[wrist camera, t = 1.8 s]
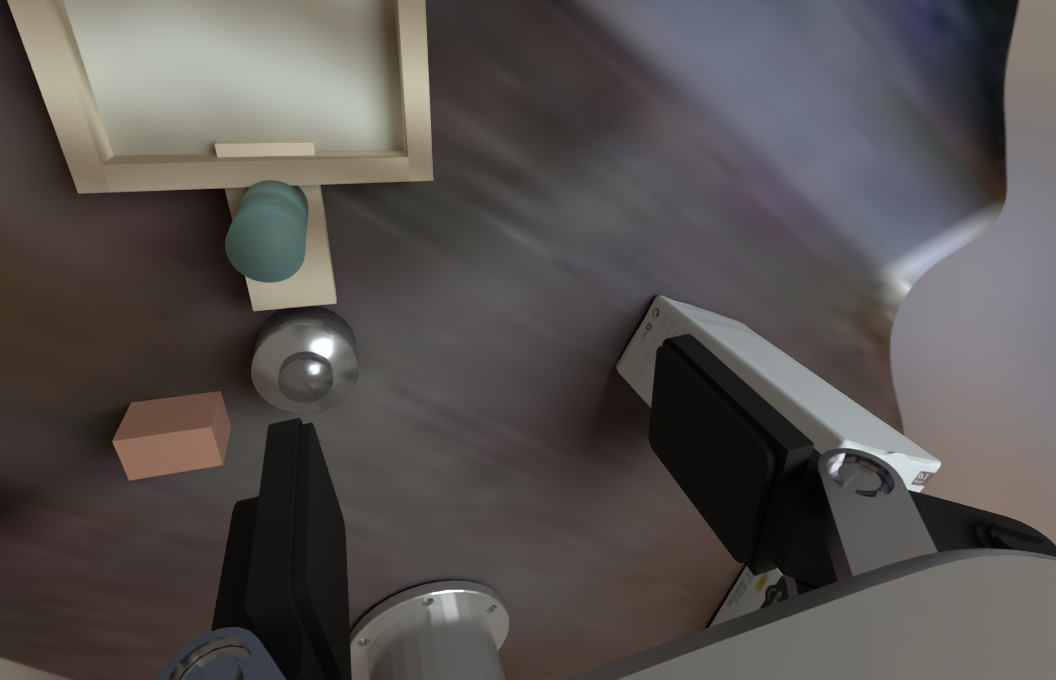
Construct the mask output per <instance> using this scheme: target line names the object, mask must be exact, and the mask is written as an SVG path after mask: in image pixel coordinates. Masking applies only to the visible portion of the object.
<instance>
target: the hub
mask: <svg viewBox="0 0 1056 680" xmlns="http://www.w3.org/2000/svg"><path fill="white" fill-rule="evenodd" d="M251 376H252V381H253V384H254V386H255V388H256V390H257V391H258V393H259V394H260V395H261V396H262V397H263V398H264V399H265V400H266V401H267V402H269V403H270V404H272V405H273V406H275V407H277V408H280V409H282V410H285V411H289V412H294V413H314V412H319V411H323V410H326V409H329V408H331V407H333V406H335V405H337V404H339V403H340V402H341V401H343V400H344V399H345V398H346V397H347V396H348V395H349V394H350V393H351V391H352V390H353V388H354V386H355V384H356V381H357V378H358V361H357V351H356V341H355V336H354V334H353V331H352V330H351V328H350V326H349V325H348V324H347V322H346V321H345V320H344V319H343V318H341V317H340V316H339V315H337V314H336V313H334V312H332V311H330V310H328V309H325V308H321V307H317V306H304V307H293V308H287V309H284V310H282V311H279V312H278V313H276V314H274V315H273V316H272V317H270V318H269V319H268V320H267V321H266V322H265V323H264V325H263V326H262V328H261V329H260V331H259V334H258V337H257V341H256V346H255V352H254V357H253V362H252V367H251Z"/></svg>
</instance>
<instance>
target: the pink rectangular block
mask: <svg viewBox="0 0 1056 680" xmlns="http://www.w3.org/2000/svg"><path fill="white" fill-rule="evenodd" d="M230 431H231V425H230V421H229V418H228V414H227V411H226V407H225V404H224V401H223V397H222V394H221V391H216V392H208V393H201V394H193V395H185V396H178V397H170V398H162V399H154V400H147V401H139V402H131V404H130V406H129V408H128V410H127V412H126V414H125V416H124V418H123V420H122V422H121V424H120V426H119V428H118V430H117V432H116V434H115V437H114V439H113V441H112V442H113V444H114V447H115V449H116V451H117V454H118V456H119V458H120V460H121V463H122V465H123V467H124V470H125V472H126V474H127V477H128V479H129V481H130V480H136V479H142V478H148V477H154V476H160V475H166V474H172V473H178V472H184V471H191V470H197V469H203V468H209V467H215V466H221V465H223V463H224V459H225V454H226V449H227V445H228V440H229V436H230Z"/></svg>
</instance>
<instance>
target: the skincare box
mask: <svg viewBox="0 0 1056 680" xmlns="http://www.w3.org/2000/svg"><path fill="white" fill-rule="evenodd" d="M684 334H691V335H692V336H694V337H695V338H696V339H697V340H698V341H699V342H700V343H702V344H703V345H704V346H705V347H706V348H707V349H708V350H709V351H711V352H712V353H713V354H714V355H715V356H716V357H717V358H718V359H720V360H721V361H722V362H723V363H724V364H725V365H726V366H727V367H729V368H730V369H731V370H732V371H733V372H734V373H735V374H737V375H738V376H739V377H740V378H741V379H742V380H743V381H744V382H746V383H747V384H748V385H749V386H750V387H751V388H752V389H753V390H755V391H756V392H757V393H758V394H759V395H760V396H761V397H762V398H764V399H765V400H766V401H767V402H768V403H769V404H770V405H772V406H773V407H774V408H775V409H776V410H777V411H778V412H779V413H781V414H782V415H783V416H784V417H785V418H786V419H787V420H788V421H790V422H791V423H792V424H793V425H794V426H795V427H796V428H797V429H799V430H800V431H801V432H802V433H803V434H804V435H805V436H806V437H808V438H809V439H810V440H811V441H812V442H813V443H814V448H815V449H816V450H817V451H818V452H819V453H821V454H824V453H825V452H827V451H828V450H832V449H836V448H851V449H857V450H862V451H865V452H867V453H870V454H873V455H875V456H877V457H879V458H881V459H882V460H884V461H886V462H887V463H888V464H890V465H891V466H892V467H893V468H894V469H895V470H896V471H897V472H898V473H899V475H900V476H901V478H902V479H903V481H904V483H905V485H906V487H907V489H908V490H911V491H915V492H920V491H921V490H922V488H923V487H924V486H925V485H926V484H927V482H928V481H929V480H930V478H931V477H932V476H933V475H934V473H935V472H936V471H937V470H938V469H939V467H940V465H941V462H940V461H939V460H937V459H936V458H934V457H933V456H931V455H930V454H929V453H927V452H926V451H924V450H923V449H921V448H920V447H918V446H917V445H916V444H914V443H913V442H912V441H910V440H909V439H907V438H906V437H905V436H903V435H902V434H900V433H899V432H897V431H896V430H894V429H893V428H892V427H890V426H889V425H887V424H886V423H884V422H883V421H881V420H880V419H878V418H877V417H876V416H874V415H873V414H871V413H870V412H868V411H867V410H865V409H864V408H863V407H861V406H860V405H858V404H857V403H855V402H854V401H853V400H851V399H850V398H848V397H847V396H845V395H844V394H843V393H841V392H840V391H838V390H837V389H835V388H834V387H832V386H831V385H830V384H828V383H827V382H825V381H824V380H823V379H821V378H820V377H818V376H817V375H815V374H814V373H812V372H811V371H810V370H808V369H807V368H805V367H804V366H802V365H801V364H799V363H798V362H797V361H795V360H794V359H792V358H791V357H789V356H788V355H787V354H785V353H784V352H782V351H781V350H779V349H778V348H776V347H775V346H774V345H772V344H771V343H769V342H768V341H766V340H765V339H764V338H762V337H761V336H759V335H758V334H756V333H755V332H754V331H752V330H751V329H749V328H748V327H746V326H745V325H744V324H743V323H741V322H739V321H736V320H733V319H730V318H727V317H724V316H721V315H719V314H716V313H713V312H710V311H707V310H704V309H701V308H698V307H695V306H692V305H689V304H685V303H682V302H678V301H674V300H672V299H669V298H667V297H664V296H661V295H658V296H657V297H656V298H655V300H654V301H653V303H652V305H651V307H650V308H649V310H648V313H647V315H646V316H645V318H644V320H643V322H642V323H641V325H640V327H639V328H638V330H637V332H636V333H635V335H634V336H633V338H632V339H631V341H630V343H629V345H628V346H627V348H626V350H625V352H624V353H623V355H622V357H621V359H620V360H619V362H618V364H617V371H618V373H619V374H620V375H621V376H622V377H623V378H624V379H625V380H626V381H627V382H628V383H629V385H630V386H631V387H632V388H633V389H634V390H635V391H636V392H637V393H638V394H639V396H640V397H641V398H642V399H643V400H644V401H645V402H646V403H647V404H648V405H649V406H650V408H651V402H652V392H653V381H654V370H655V360H656V351H657V348H658V347H659V346H662V343H663V341H664V340H665V339H666V338H670V337H675V336H680V335H684Z"/></svg>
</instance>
